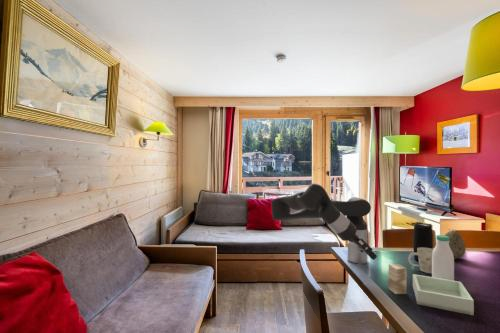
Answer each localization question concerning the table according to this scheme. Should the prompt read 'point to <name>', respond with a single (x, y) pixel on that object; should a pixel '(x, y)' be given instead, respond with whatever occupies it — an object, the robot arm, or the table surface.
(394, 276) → the birch block
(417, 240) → the portable speaker
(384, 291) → the table surface
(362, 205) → the robot arm
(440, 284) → the bin
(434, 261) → the milk bottle
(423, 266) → the mug
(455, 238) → the decorative egg
